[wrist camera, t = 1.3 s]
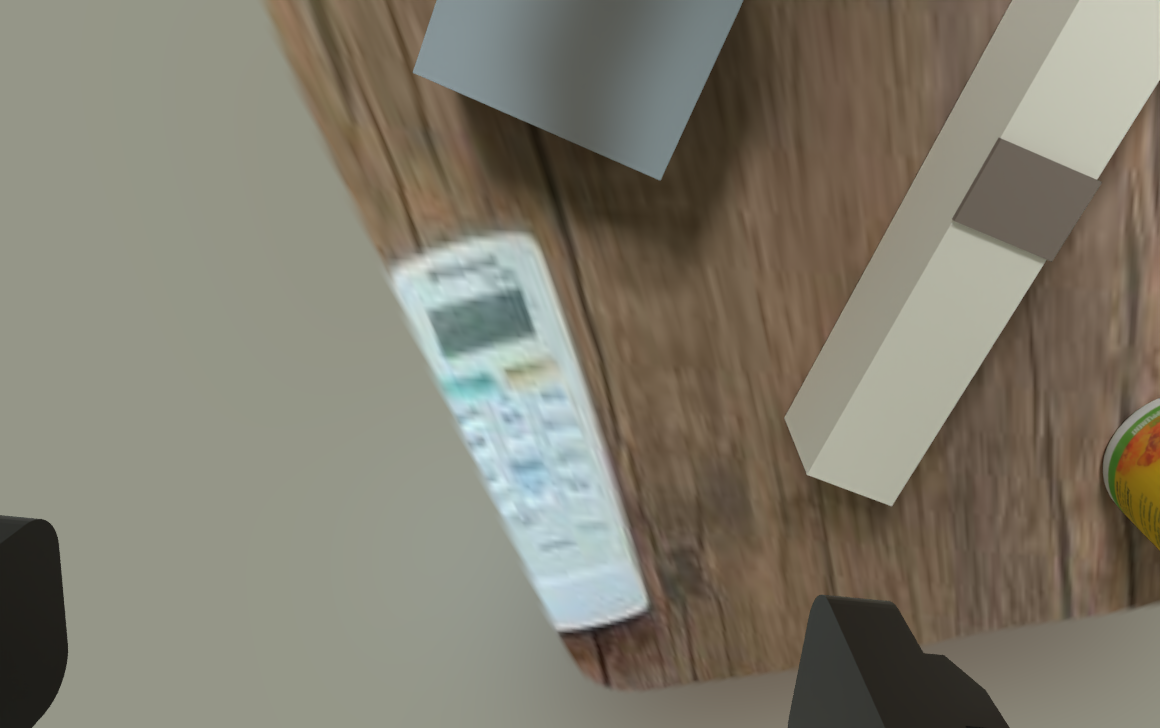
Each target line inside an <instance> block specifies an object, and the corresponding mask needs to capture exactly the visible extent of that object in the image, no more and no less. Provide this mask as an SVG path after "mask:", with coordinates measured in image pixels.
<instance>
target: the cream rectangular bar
mask: <svg viewBox="0 0 1160 728" xmlns="http://www.w3.org/2000/svg"><path fill="white" fill-rule="evenodd" d="M1159 80H1160V0H1012V2H1011V4H1010V5H1009V7H1008V9H1007V11H1006V13H1005V15H1004V16H1003V18H1002V20H1001V22H1000V24H999V26H998V27H997V29H996V31H995V33H994V35H993V37H992V38H991V40H990V42H989V44H988V46H987V48H986V49H985V51H984V53H983V55H982V57H981V58H980V60H979V62H978V64H977V66H976V68H975V69H974V71H973V73H972V75H971V77H970V79H969V80H968V82H967V84H966V86H965V88H964V90H963V91H962V93H961V95H960V97H959V99H958V101H957V102H956V104H955V106H954V108H953V110H952V112H951V113H950V115H949V117H948V119H947V121H946V123H945V124H944V126H943V128H942V130H941V132H940V134H939V135H938V137H937V139H936V141H935V143H934V145H933V146H932V148H931V150H930V152H929V154H928V156H927V157H926V159H925V161H924V163H923V165H922V167H921V168H920V170H919V172H918V174H917V176H916V178H915V179H914V181H913V183H912V185H911V187H910V189H909V190H908V192H907V194H906V196H905V198H904V200H903V201H902V203H901V205H900V207H899V209H898V211H897V212H896V214H895V216H894V218H893V220H892V222H891V223H890V225H889V227H888V229H887V231H886V233H885V234H884V236H883V238H882V240H881V242H880V244H879V245H878V247H877V249H876V251H875V253H874V255H873V256H872V258H871V260H870V262H869V264H868V266H867V267H866V269H865V271H864V273H863V275H862V277H861V278H860V280H859V282H858V284H857V286H856V288H855V289H854V291H853V293H852V295H851V297H850V299H849V300H848V302H847V304H846V306H845V308H844V310H843V311H842V313H841V315H840V317H839V319H838V321H837V322H836V324H835V326H834V328H833V330H832V332H831V333H830V335H829V337H828V339H827V341H826V342H825V344H824V346H823V348H822V350H821V352H820V353H819V355H818V357H817V359H816V361H815V363H814V364H813V366H812V368H811V370H810V372H809V374H808V375H807V377H806V379H805V381H804V383H803V385H802V386H801V388H800V390H799V392H798V394H797V396H796V397H795V399H794V401H793V403H792V405H791V407H790V408H789V410H788V412H787V414H786V416H785V418H784V419H785V421H786V424H787V426H788V429H789V431H790V434H791V436H792V439H793V441H794V444H795V446H796V449H797V451H798V454H799V456H800V459H801V461H802V464H803V466H804V469H805V471H806V474H807V475H809V476H811V477H814V478H817V479H820V480H822V481H825V482H828V483H830V484H833V485H836V486H838V487H841V488H844V489H846V490H849V491H852V492H855V493H857V494H860V495H863V496H865V497H868V498H871V499H873V500H876V501H879V502H881V503H884V504H887V505H890V506H892V505H893V503H894V502H895V500H896V499H897V497H898V495H899V494H900V492H901V491H902V489H903V488H904V486H905V484H906V483H907V481H908V480H909V478H910V476H911V475H912V473H913V472H914V470H915V468H916V467H917V465H918V464H919V462H920V461H921V459H922V457H923V456H924V454H925V453H926V451H927V449H928V448H929V446H930V445H931V443H932V441H933V440H934V438H935V437H936V435H937V433H938V432H939V430H940V429H941V427H942V426H943V424H944V422H945V421H946V419H947V418H948V416H949V414H950V413H951V411H952V410H953V408H954V406H955V405H956V403H957V402H958V400H959V398H960V397H961V395H962V394H963V392H964V391H965V389H966V387H967V386H968V384H969V383H970V381H971V379H972V378H973V376H974V375H975V373H976V371H977V370H978V368H979V367H980V365H981V363H982V362H983V360H984V359H985V357H986V356H987V354H988V352H989V351H990V349H991V348H992V346H993V344H994V343H995V341H996V340H997V338H998V336H999V335H1000V333H1001V332H1002V330H1003V329H1004V327H1005V325H1006V324H1007V322H1008V321H1009V319H1010V317H1011V316H1012V314H1013V313H1014V311H1015V309H1016V308H1017V306H1018V305H1019V303H1020V301H1021V300H1022V298H1023V297H1024V295H1025V294H1026V292H1027V290H1028V289H1029V287H1030V286H1031V284H1032V282H1033V281H1034V279H1035V278H1036V276H1037V274H1038V273H1039V271H1040V270H1041V268H1042V266H1043V265H1044V263H1045V262H1046V260H1049V261H1051V262H1052V261H1053V259H1054V258H1055V256H1056V255H1057V253H1058V251H1059V250H1060V248H1061V247H1062V245H1063V243H1064V242H1065V240H1066V239H1067V237H1068V236H1069V234H1070V232H1071V231H1072V229H1073V228H1074V226H1075V224H1076V223H1077V221H1078V220H1079V218H1080V217H1081V215H1082V213H1083V212H1084V210H1085V209H1086V207H1087V205H1088V204H1089V202H1090V201H1091V199H1092V198H1093V196H1094V194H1095V193H1096V191H1097V190H1098V188H1099V186H1100V185H1101V183H1102V182H1101V181H1099V180H1097V179H1098V177H1099V176H1100V174H1101V173H1102V171H1103V169H1104V168H1105V166H1106V165H1107V163H1108V162H1109V160H1110V158H1111V157H1112V155H1113V154H1114V152H1115V150H1116V149H1117V147H1118V146H1119V144H1120V142H1121V141H1122V139H1123V138H1124V136H1125V134H1126V133H1127V131H1128V130H1129V128H1130V127H1131V125H1132V123H1133V122H1134V120H1135V119H1136V117H1137V115H1138V114H1139V112H1140V111H1141V109H1142V107H1143V106H1144V104H1145V103H1146V101H1147V99H1148V98H1149V96H1150V95H1151V93H1152V92H1153V90H1154V88H1155V87H1156V85H1157V84H1158V82H1159Z"/></svg>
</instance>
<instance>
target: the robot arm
mask: <svg viewBox="0 0 1160 728" xmlns="http://www.w3.org/2000/svg"><path fill="white" fill-rule="evenodd" d="M66 631H67V630H66V620H65V608H64V597H63V587H62V575H61V563H60V552H59V543H58V537H57V534H56V532H55V529H54V528H53V526H52V525H51V524H50V523H49V522H47V521H46V520H42V519H34V518H24V517H13V516H2V515H0V728H32V727H33V726H34V725H35V724H36V722H37V721H38V720H39V719H40V718H41V717H42V716H43V715H44V713H45V712H46V711H47V709H48V708H49V707H50V705H51V704H52V702H53V700H54V699H55V697H56V695H57V693H58V691H59V688H60V686H61V683H62V680H63V677H64V673H65V670H66V664H67V657H68V643H67V632H66ZM788 728H1009V726H1008V725H1007V723H1006V722H1005V720H1004V719H1003V717H1002V715H1001V714H1000V712H999V711H998V709H997V707H996V706H995V705H994V703H993V701H992V700H991V698H990V696H989V695H988V693H987V692H986V690H985V689H983V688H982V687H981V686H980V685H979V684H977V683H976V682H975V681H974V680H973V679H972V678H970V677H969V676H968V675H967V674H966V673H964V672H963V671H962V670H961V669H960V668H959V667H957V666H956V665H955V664H954V663H953V662H951V661H950V660H949V659H948V658H947V657H945V656H944V655H935V654H925V653H923V651H922V650H921V648H920V646H919V644H918V643H917V641H916V639H915V637H914V636H913V634H912V632H911V631H910V629H909V627H908V625H907V624H906V622H905V620H904V618H903V617H902V615H901V613H900V611H899V610H898V608H897V607H896V605H895V604H894V603H892V602H890V601H882V600H872V599H861V598H850V597H840V596H829V595H819V596H818V597H817V598H816V599H815V600H814V603H813V605H812V608H811V611H810V615H809V619H808V624H807V629H806V634H805V639H804V644H803V649H802V654H801V659H800V664H799V670H798V675H797V680H796V685H795V690H794V695H793V700H792V705H791V710H790V715H789V722H788Z"/></svg>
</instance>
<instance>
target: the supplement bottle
mask: <svg viewBox="0 0 1160 728" xmlns="http://www.w3.org/2000/svg"><path fill="white" fill-rule="evenodd" d="M1103 477H1104V483H1105V486H1106V489H1107V491H1108V493H1109V495H1110V497H1111V498H1112V500H1113V501H1114V503H1115V504H1116V505H1117V506H1118V507H1119V508H1120V510H1121V511H1122V512H1123V513H1124V514H1125V515H1126V516H1127V517H1128V518H1129V519H1130V520H1131V521H1132V522H1133V524H1134V525H1135V526H1136V527H1137V528H1138V529H1139V530H1140V531H1141V532H1142V533H1143V534H1144V535H1145V536H1146V537H1147V538H1148V539H1149V540H1150V541H1151V542H1152V543H1153V544H1154V545H1155V546H1156V547H1157V548H1158V549H1159V551H1160V398H1158V399H1156V400H1154V401H1152V402H1150V403H1148V404H1146V405H1145V406H1143V407H1142V408H1140V409H1138V410H1137V411H1136V412H1134V413H1133V414H1132V415H1131V416H1130V417H1129V418H1128V419H1127V420H1126V421H1125V422H1124V423H1123V424H1122V425H1121V426H1120V427H1119V428H1118V429H1117V431H1116V432H1115V434H1114V435H1113V437H1112V439H1111V440H1110V442H1109V444H1108V446H1107V449H1106V452H1105V455H1104V461H1103Z"/></svg>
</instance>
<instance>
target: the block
mask: <svg viewBox="0 0 1160 728" xmlns="http://www.w3.org/2000/svg"><path fill="white" fill-rule="evenodd" d="M742 2H743V0H437V1H436V4H435V7H434V10H433V13H432V16H431V19H430V22H429V25H428V28H427V31H426V34H425V37H424V40H423V43H422V46H421V49H420V52H419V55H418V58H417V61H416V64H415V67H414V70H413V73H415V74H417V75H419V76H422V77H424V78H426V79H429V80H431V81H433V82H435V83H438V84H440V85H442V86H445V87H447V88H449V89H451V90H454V91H456V92H458V93H461V94H463V95H465V96H467V97H470V98H472V99H474V100H477V101H479V102H481V103H484V104H486V105H488V106H490V107H493V108H495V109H497V110H500V111H502V112H504V113H506V114H509V115H511V116H513V117H516V118H518V119H520V120H522V121H525V122H527V123H529V124H532V125H534V126H536V127H538V128H541V129H543V130H545V131H548V132H550V133H552V134H555V135H557V136H559V137H561V138H564V139H566V140H568V141H571V142H573V143H575V144H577V145H580V146H582V147H584V148H587V149H589V150H591V151H593V152H596V153H598V154H600V155H603V156H605V157H607V158H609V159H612V160H614V161H616V162H619V163H621V164H623V165H625V166H628V167H630V168H632V169H635V170H637V171H639V172H642V173H644V174H646V175H648V176H651V177H653V178H655V179H658V180H661V178H662V176H663V174H664V172H665V169H666V167H667V165H668V163H669V161H670V159H671V156H672V154H673V152H674V150H675V148H676V146H677V143H678V141H679V139H680V137H681V135H682V133H683V130H684V128H685V126H686V124H687V122H688V120H689V117H690V115H691V113H692V111H693V109H694V107H695V104H696V102H697V100H698V98H699V96H700V94H701V91H702V89H703V87H704V85H705V83H706V81H707V78H708V76H709V74H710V72H711V70H712V68H713V65H714V63H715V61H716V59H717V57H718V55H719V52H720V50H721V48H722V46H723V44H724V42H725V39H726V37H727V35H728V33H729V31H730V29H731V26H732V24H733V22H734V20H735V18H736V16H737V13H738V11H739V9H740V7H741V5H742Z"/></svg>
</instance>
